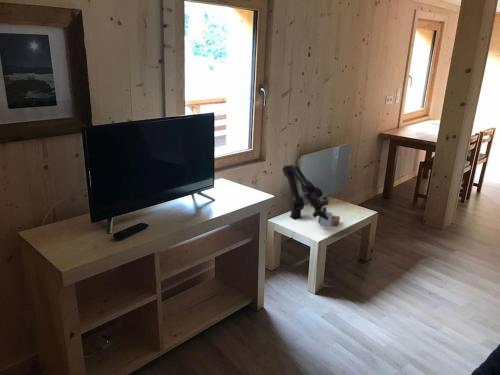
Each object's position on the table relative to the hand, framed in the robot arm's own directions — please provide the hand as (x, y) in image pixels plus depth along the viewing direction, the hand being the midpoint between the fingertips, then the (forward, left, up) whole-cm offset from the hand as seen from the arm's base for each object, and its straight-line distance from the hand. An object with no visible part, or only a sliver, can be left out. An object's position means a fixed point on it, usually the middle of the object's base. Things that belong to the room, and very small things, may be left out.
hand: (328, 218), depth 275 cm
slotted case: (+7, +8, -8) cm, 13 cm away
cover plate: (-1, +1, -6) cm, 6 cm away
